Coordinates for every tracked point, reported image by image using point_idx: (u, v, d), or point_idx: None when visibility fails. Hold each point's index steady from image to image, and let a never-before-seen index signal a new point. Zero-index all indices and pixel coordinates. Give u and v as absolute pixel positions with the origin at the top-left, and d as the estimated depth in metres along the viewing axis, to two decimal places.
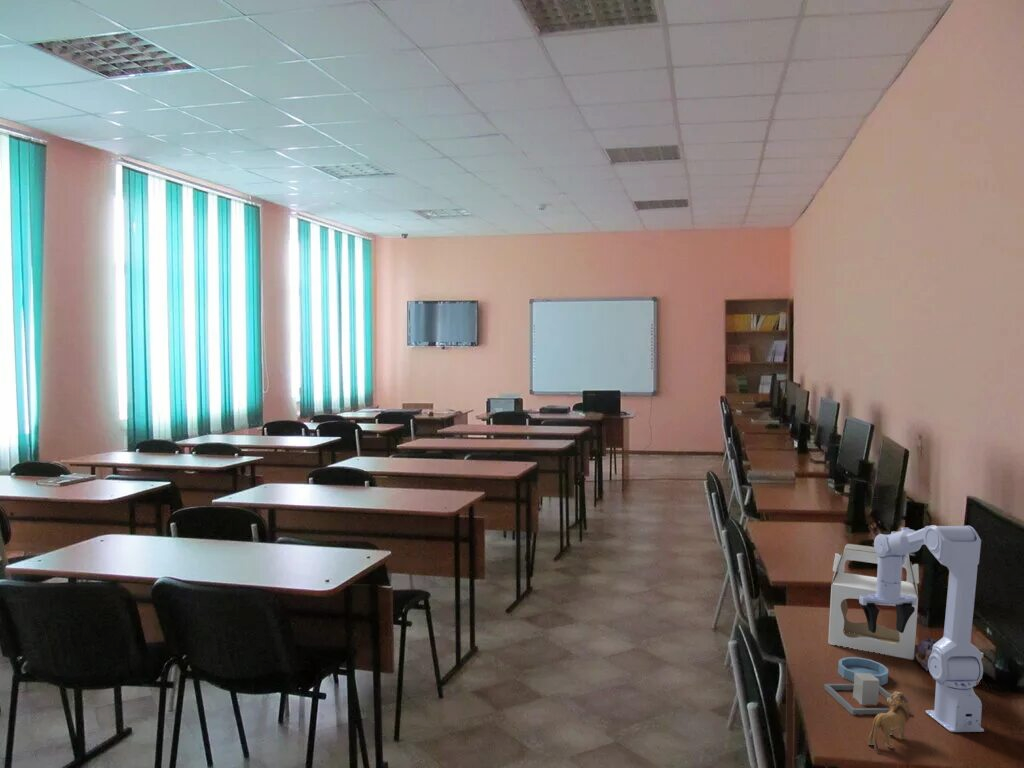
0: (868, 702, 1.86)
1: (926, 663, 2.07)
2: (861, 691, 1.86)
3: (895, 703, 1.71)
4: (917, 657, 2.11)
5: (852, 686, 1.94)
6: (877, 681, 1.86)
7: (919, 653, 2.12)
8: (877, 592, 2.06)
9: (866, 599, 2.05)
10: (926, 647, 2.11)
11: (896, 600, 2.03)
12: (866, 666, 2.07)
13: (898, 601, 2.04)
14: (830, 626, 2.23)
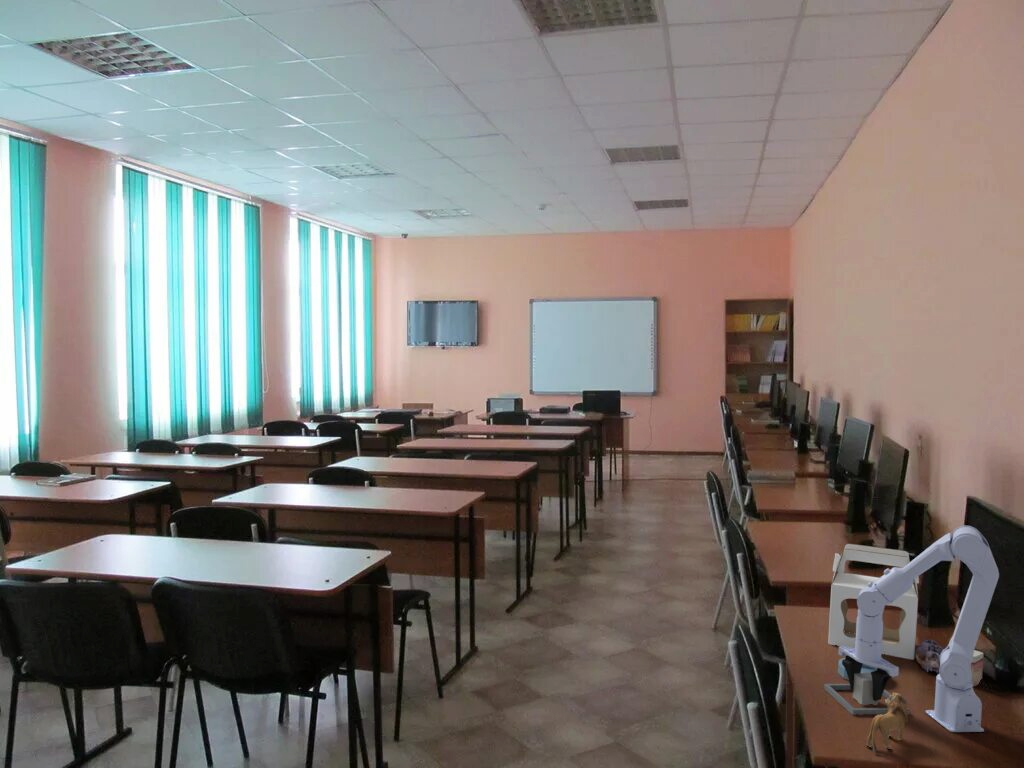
0: (868, 702, 1.86)
1: (926, 664, 2.06)
2: (861, 691, 1.86)
3: (894, 704, 1.70)
4: (917, 658, 2.11)
5: None
6: None
7: (919, 654, 2.11)
8: None
9: (841, 649, 1.93)
10: (927, 648, 2.10)
11: (862, 659, 1.86)
12: (866, 666, 2.07)
13: (865, 661, 1.85)
14: (830, 626, 2.23)
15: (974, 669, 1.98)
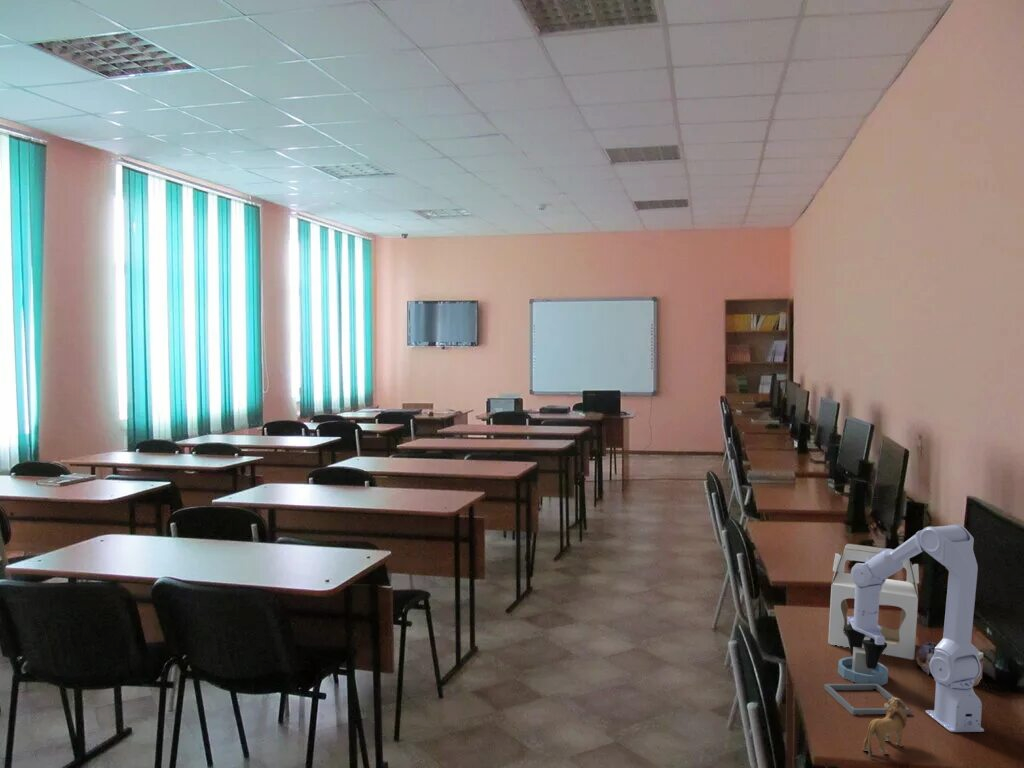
0: None
1: (927, 667, 2.05)
2: (854, 662, 2.02)
3: (892, 709, 1.68)
4: (918, 661, 2.09)
5: (852, 686, 1.94)
6: None
7: (920, 657, 2.09)
8: None
9: (848, 618, 2.08)
10: (927, 651, 2.08)
11: (856, 627, 2.01)
12: None
13: (857, 629, 2.01)
14: (830, 626, 2.23)
15: None
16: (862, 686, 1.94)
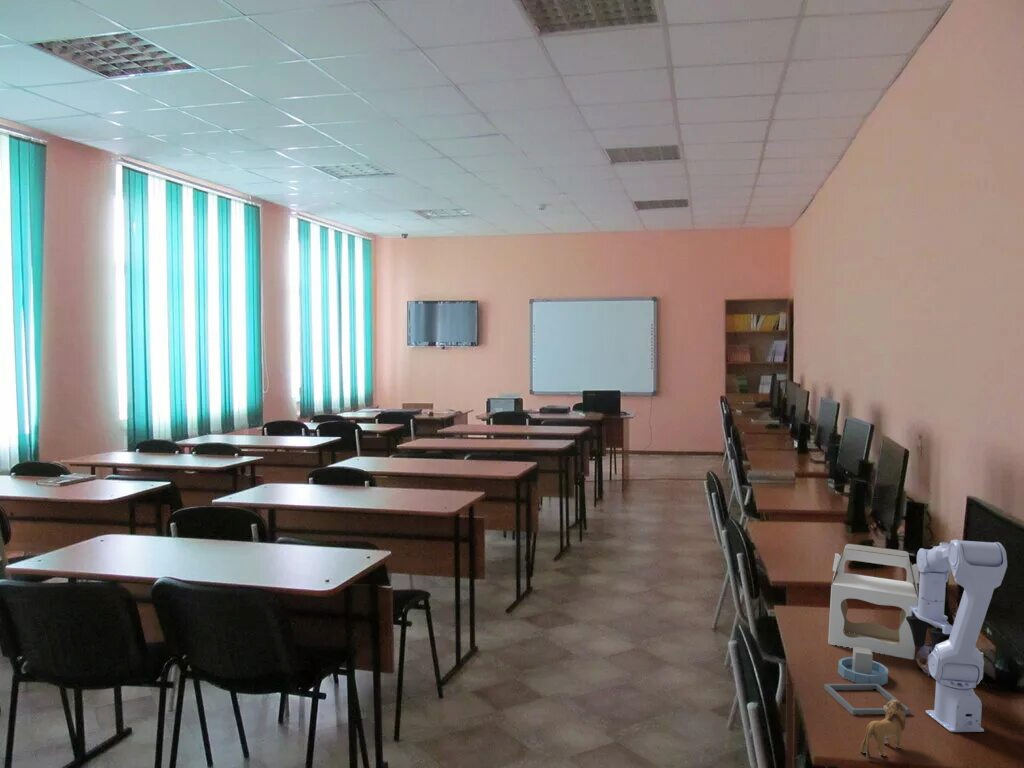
0: None
1: (928, 668, 2.04)
2: (854, 662, 2.02)
3: (891, 711, 1.67)
4: (918, 662, 2.08)
5: (852, 686, 1.94)
6: (870, 655, 2.00)
7: (920, 658, 2.09)
8: None
9: (911, 608, 2.01)
10: (928, 652, 2.07)
11: (921, 616, 1.94)
12: None
13: (922, 618, 1.93)
14: (830, 626, 2.23)
15: None
16: (862, 686, 1.94)
